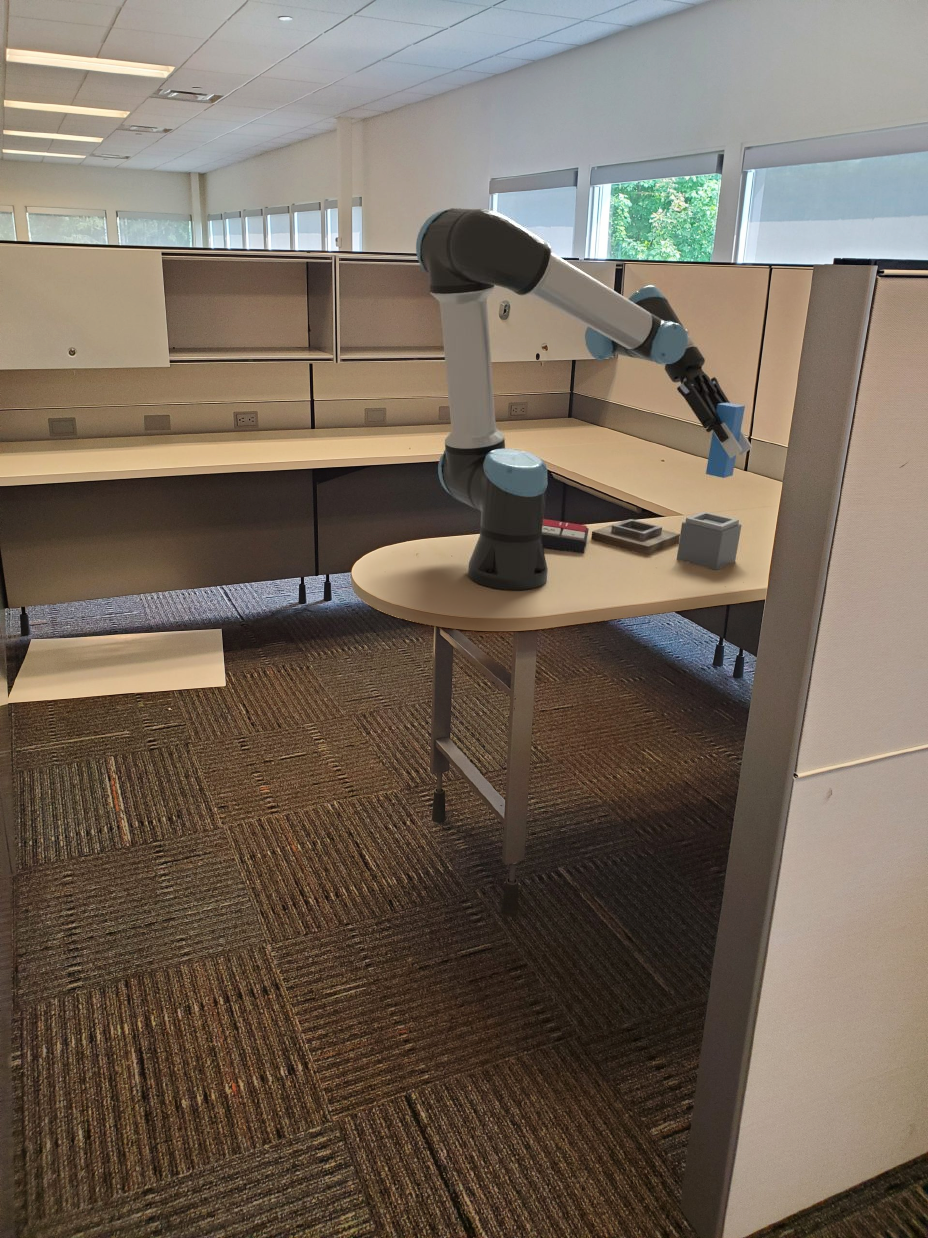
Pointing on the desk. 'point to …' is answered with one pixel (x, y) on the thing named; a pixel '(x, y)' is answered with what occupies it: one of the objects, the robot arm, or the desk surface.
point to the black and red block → (564, 536)
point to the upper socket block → (709, 540)
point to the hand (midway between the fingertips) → (741, 452)
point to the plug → (718, 456)
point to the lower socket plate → (636, 536)
